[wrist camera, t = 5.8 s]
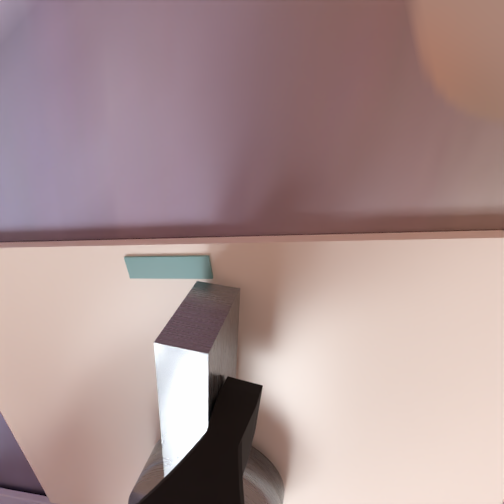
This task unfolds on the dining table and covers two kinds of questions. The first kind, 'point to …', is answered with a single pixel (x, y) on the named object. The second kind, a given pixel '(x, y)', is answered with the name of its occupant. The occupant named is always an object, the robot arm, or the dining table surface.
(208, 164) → the dining table surface
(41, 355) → the base
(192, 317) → the twist lock
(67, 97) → the dining table surface
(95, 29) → the dining table surface
